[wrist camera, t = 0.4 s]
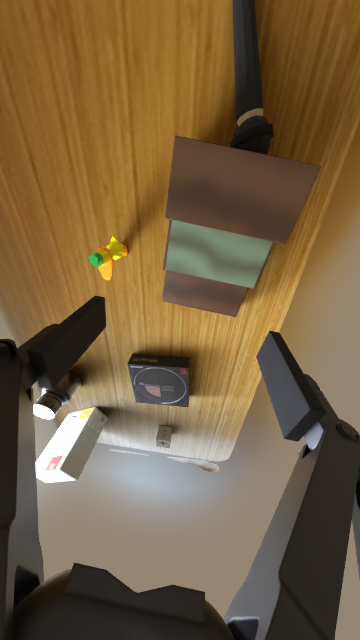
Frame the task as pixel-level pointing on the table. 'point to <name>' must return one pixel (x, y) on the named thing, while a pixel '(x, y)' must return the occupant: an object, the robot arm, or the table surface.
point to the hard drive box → (71, 446)
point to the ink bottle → (56, 396)
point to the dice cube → (164, 436)
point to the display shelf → (227, 220)
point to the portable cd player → (160, 379)
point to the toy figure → (108, 257)
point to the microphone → (248, 82)
